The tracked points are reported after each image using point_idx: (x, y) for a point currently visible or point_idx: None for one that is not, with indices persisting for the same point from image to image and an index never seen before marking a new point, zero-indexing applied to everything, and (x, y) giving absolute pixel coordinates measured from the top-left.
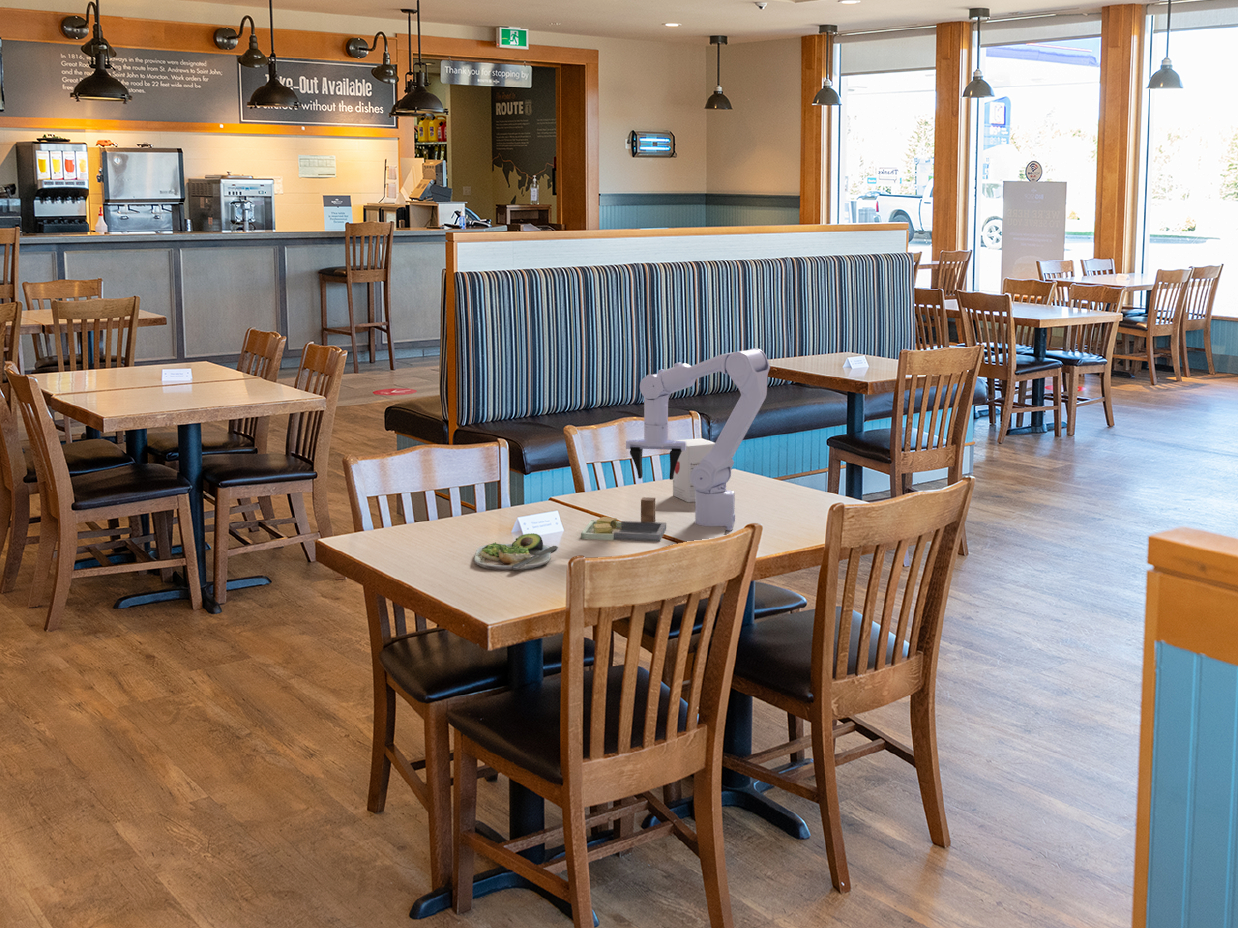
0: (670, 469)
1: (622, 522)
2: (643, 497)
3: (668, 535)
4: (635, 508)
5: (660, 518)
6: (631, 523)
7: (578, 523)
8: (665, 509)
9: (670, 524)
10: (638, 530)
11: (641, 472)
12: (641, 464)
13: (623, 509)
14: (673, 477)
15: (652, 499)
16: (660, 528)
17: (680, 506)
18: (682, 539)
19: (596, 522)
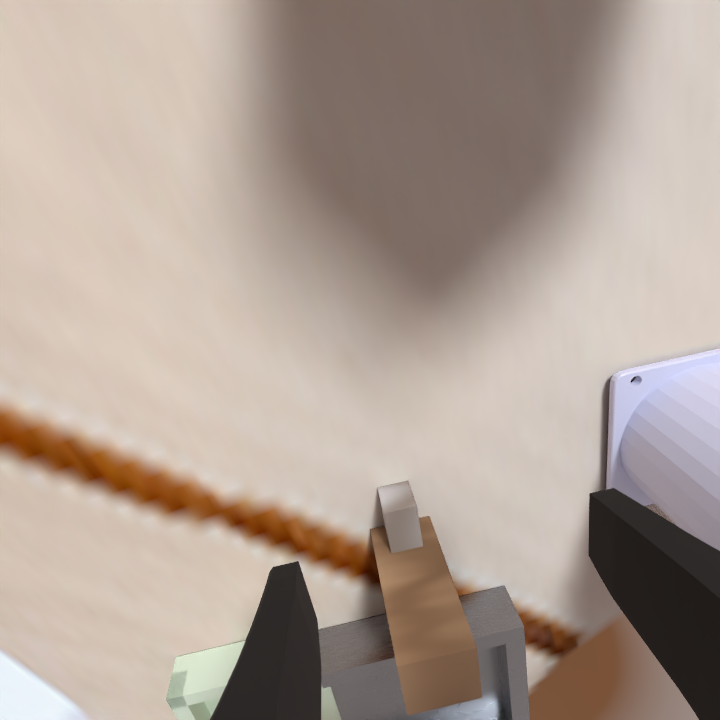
0: (669, 666)
1: (328, 684)
2: (401, 668)
3: (519, 605)
4: (162, 200)
5: (412, 381)
6: (368, 671)
7: (57, 608)
8: (375, 151)
9: (492, 465)
10: None
11: (309, 649)
12: (291, 711)
13: (99, 259)
14: (621, 493)
15: (470, 683)
16: (516, 694)
17: (456, 6)
18: (580, 625)
19: (201, 697)
